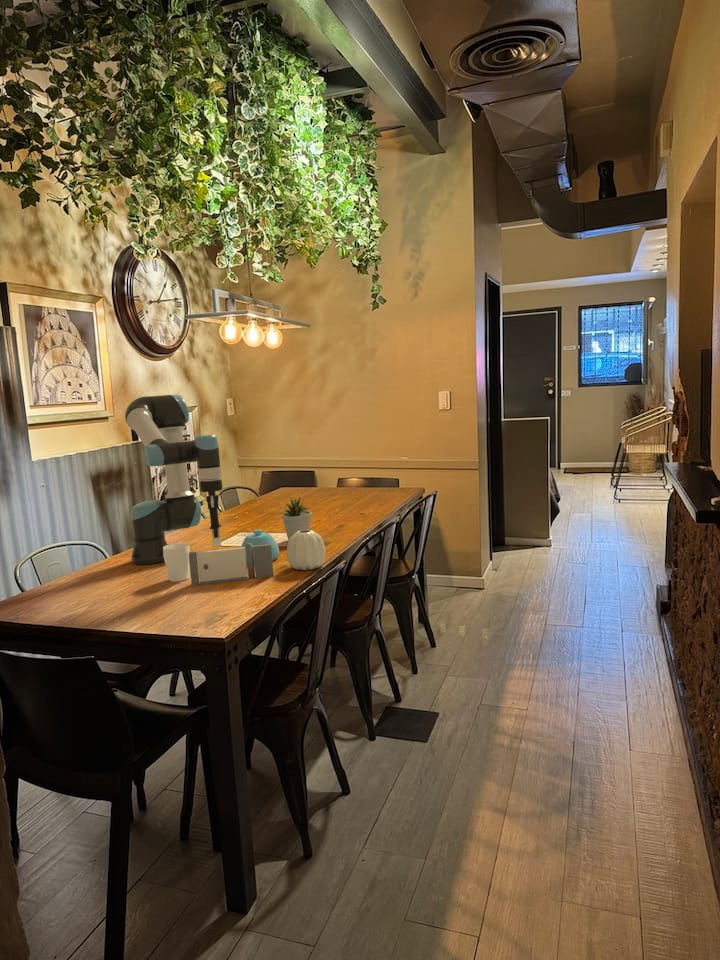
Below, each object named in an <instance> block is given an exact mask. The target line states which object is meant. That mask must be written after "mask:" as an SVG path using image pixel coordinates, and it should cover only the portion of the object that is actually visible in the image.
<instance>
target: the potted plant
mask: <svg viewBox="0 0 720 960" xmlns="http://www.w3.org/2000/svg"><path fill="white" fill-rule="evenodd" d="M301 499H302V497H301V496H300V495H299V496H298V498H294V500H293V498H289V501H290V502H291V503H290V504H289V503H287V502H286V501H284V503H285V505H286V507H288V509H286V508H284V511H285V512H279V514H281V518H282V520H283V526H284V529H285V534H286V537H287V540H288V541H289V538H290V537H291V536H292V535H293V534H295V533H296V532H297V531H300V530H311V519H312V511H310V510H309V509H311V506H308V507H307V506H304V499H305V498H303V500H302V502H301Z"/></svg>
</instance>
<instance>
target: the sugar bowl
mask: <svg viewBox="0 0 720 960" xmlns="http://www.w3.org/2000/svg"><path fill="white" fill-rule="evenodd" d="M262 531H263V530H262V529H254V530H253V533H250V534H247V535H246V536H245V538H244V540H243V541H242V544H241V547H245V555H246V564H247V553H246V544H247V543H252V548H253V546H255V545H264V544H271V551H272V562H273V561H275V560H276V559H278V557H279V555H280V548H279V545H278V542H277V541H276V539H274V537H273V536H272V535H271V534H270V533H269V532H262ZM241 547H240V548H241ZM253 559H254V549H253ZM254 565H255V561H254Z"/></svg>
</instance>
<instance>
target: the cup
mask: <svg viewBox="0 0 720 960" xmlns="http://www.w3.org/2000/svg"><path fill="white" fill-rule="evenodd" d="M189 552H191V551H190V545H189V543H186V542H177V543H170V544H168V545H166V546H164V547H163V556H164V560H165V561H164V564H165V568H166V571H167V575H168V578H169V581H170V582H173V583H177V582H184V581H186V580H188V579H189V578H190V563H189Z"/></svg>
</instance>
